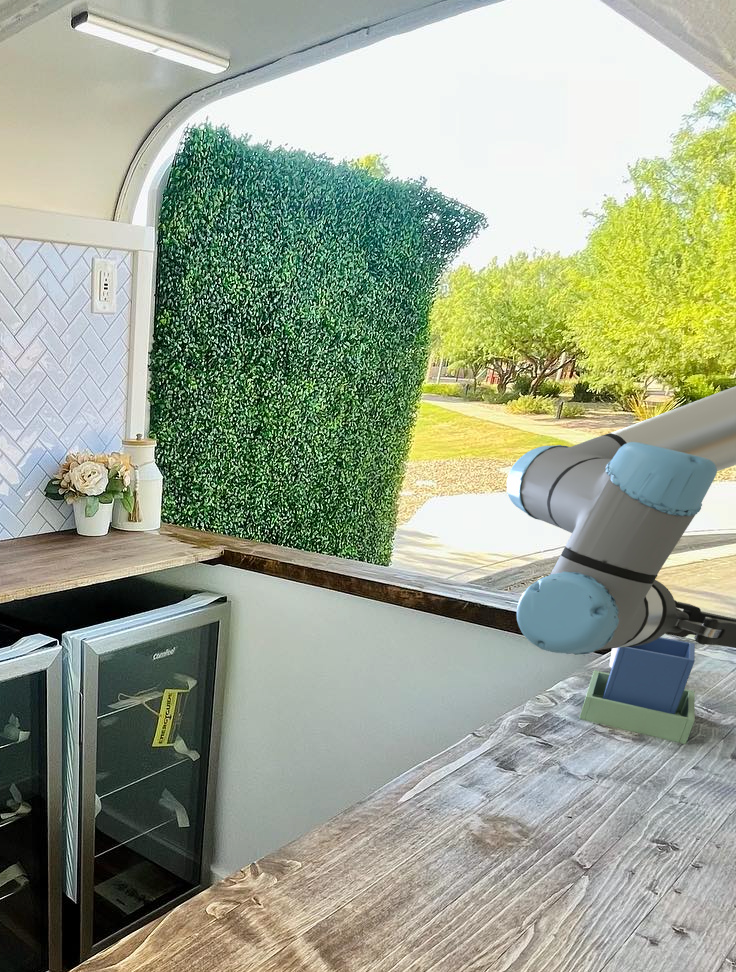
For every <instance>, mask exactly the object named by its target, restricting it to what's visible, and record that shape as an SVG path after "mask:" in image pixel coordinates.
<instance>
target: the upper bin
mask: <svg viewBox="0 0 736 972" xmlns="http://www.w3.org/2000/svg"><path fill="white" fill-rule="evenodd" d="M695 660H696V643H695V642H689V641H684V640H680V639H679V640H678V639H673V638H666V637H663V636H661V637H660V638H658V639H656V640H654V641H652V642H650V643H647V644H644V645H639V646H631V647H619V648H618V650H617V653H616V656H615V659H614V662H613V666H612V668H610V672H609V673H610V675H609V678H608V681H607V684H606V687H605V690H604V693H603V696H602V698H603V699H607V700H612V701H616V702H621V703H625V704H630V705H634V706H638V707H643V708H647V709H652V710H656V711H661V712H665V713H670V714H674V715H675V713H676V710H677V708H678V705H679V702H680V700H681V697H682V694H683V691H684V689H686V686H687V683H688V681H689V678H690V675H691V672H692V670H693V667H694V664H695Z"/></svg>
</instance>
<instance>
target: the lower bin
mask: <svg viewBox="0 0 736 972" xmlns="http://www.w3.org/2000/svg"><path fill="white" fill-rule="evenodd" d="M609 675H610V672H605V671H600V670H596V669H595V670H593V672H592V675H591V678H590V681H589V685H588V688H587V691H586V694H585V698H584V702H583V704H582V708H581V711H580V714H579V717H578V718H579V720H582V721H588V722H591V723H595V724H599V725H604V726H608V727H612V728H616V729H620V730H625V731H629V732H633V733H637V734H640V735H645V736H650V737H653V738H658V739H662V740H666V741H670V742H673V743H674V742H675V743H679V744H683V745H686V744H687V742H688V739H689V737H690V735H691V731H692V729H693V726H694V724H695V720H696V719H695V716H696V715H695V714H696V712H695V710H696V709H695V707H696V705H695V703H696V702H695V701H696V699H695V697H696V694H695V693H696V692H695V690H692V689H687V688H685V689H684V691H683V694H682V697H681V700H680V702H679V705H678V708H677V710H676V713H675V715H674V714H670V713H665V712H661V711H656V710H652V709H647V708H643V707H638V706H634V705H630V704H625V703H621V702H616V701H612V700H607V699H603V698H602V696H603V693H604V690H605V687H606V684H607V681H608V678H609Z"/></svg>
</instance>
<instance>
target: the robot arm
mask: <svg viewBox="0 0 736 972" xmlns="http://www.w3.org/2000/svg"><path fill="white" fill-rule="evenodd" d="M734 466H736V385H735V386H732V387H729V388H727V389H724V390H721V391H719V392H716V393H714V394H711V395H707V396H706V397H703V398H700V399H698V400H695V401H692V402H689V403H687V404H684V405H681V406H678V407H676V408H674V409H671V410H667V411H665V412H663V413H660V414H658V415H654V416H651V417H649V418H647V419H644V420H642V421H639V422H636V423H633V424H630V425H627V426H625V427H623V428H619V429H617V430H615V431H611V432H609V433H606V434H603V435H600V436H597V437H594V438H591V439H588V440H585V441H583V442H580V443H577V444H574V445H572V446H568V445H561V444H557V445H542V446H538V447H536V448H533V449H531V450H529V451H527V452H525V453H524V454H523V455H522V456H520V457H519V458H518V459H517V461H515V463H514V464H513V465H512V467H511V468H510V471H509V472H508V475H507V479H506V494H507V496H508V498H509V500H510V501H511V503H512V504H513V505H514V506H515V507H516V508H517V509H519V510H520V511H522V512H523V513H525V514H526V515H527V516H528V517H530V518H533V519H534V520H538V521H542V522H545V523H547V524H549V525H552V526H554V527H557V528H560V529H562V530H563V531H566V532H568V533H570V536H569V539H568V540H567V542H566V544H565V547H564V548H563V550H562V552H561V553H560V556H559V557H558V559H557V561H556V563H555V565H554V567H553V568H552V570H551V572H550V574H549V575H545V576H543V577H541V578H539V579H537V580H536V581H535V582H533V583H532V584H530V585H529V586H527V588H526V589H525V590H524V592H523V593H522V594H521V596H520V598H519V600H518V602H517V607H516V621H517V625H518V628H519V629H520V631H521V633H522V635H523V636H524V638H526V639H527V640H528V641H529V642H530V643H531V644H532V645H534V646H535V647H538V648H539V649H541V650H542V651H546V652H550V653H555V654H566V655H571V654H573V655H575V656H577V655H587V654H591V653H595V652H598V651H601V650H602V651H603V650H604V651H605V650H610V649H611V650H612V648H619V647H631V646H639V645H644V644H647V643H650V642H652V641H654V640H656V639H658V638H660V637H663V636H664V635H669V636H673V637H679V638H686V637H688V636H690V635H693V636H694V637H693V639H694V641H695V642H696V643H698V644H699V645H703V646H705V645H707V646H721V647H727V648H732V649H733V648H734V649H736V618H735V617H731V616H725V615H720V614H715V613H712V612H711V613H710V612H706V611H701V608H700V607H698V606H695V605H693V604H691V603H686V602H682V601H677V600H676V599H675V598H674V596H673V594H672V592H671V591H670V590H669V589H668V587H666V586H665V585H664V584H663V583H662V582H661V581H658V580H657V577H658V574H659V573H660V571H661V570H662V568H663V566H664V564H665V563H666V561H667V560H668V558H669V557H670V556H671V554H672V552H673V550H674V549H675V548H676V546H677V545H678V543H679V541H680V540H681V538H682V537H683V535H684V533H685V532H686V530H687V529H688V528H689V526H690V524H691V523H692V521H693V520H694V518H695V517H696V515H698V513H700V511H701V509H702V507H703V503H702V502H703V500H705V497H706V496H707V493H708V491H709V489H710V487H711V486H712V484H713V482H714V481H715V478H716V476H717V473H718V472H720V471H722V470H725V469H729V468H731V467H734Z"/></svg>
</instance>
